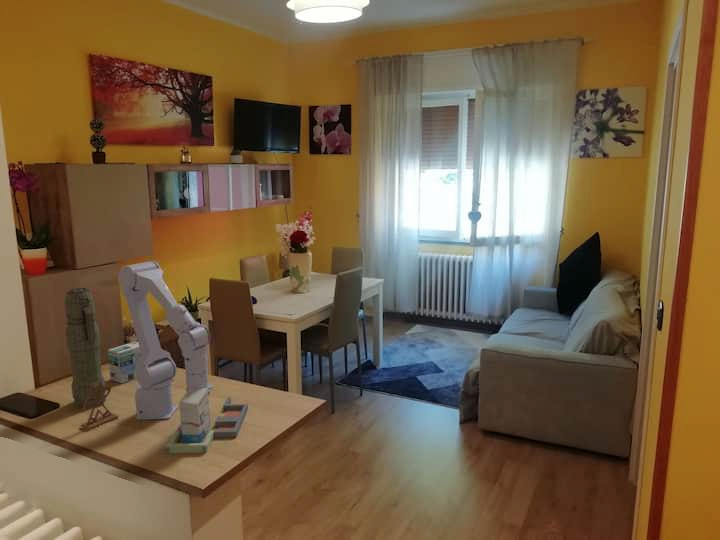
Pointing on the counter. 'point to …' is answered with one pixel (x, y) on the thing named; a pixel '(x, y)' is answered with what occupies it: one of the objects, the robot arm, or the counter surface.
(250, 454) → the counter surface
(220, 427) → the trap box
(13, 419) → the counter surface
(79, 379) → the grey stone statue
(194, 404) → the ink box
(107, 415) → the wooden stand
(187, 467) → the counter surface
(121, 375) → the light bulb box
